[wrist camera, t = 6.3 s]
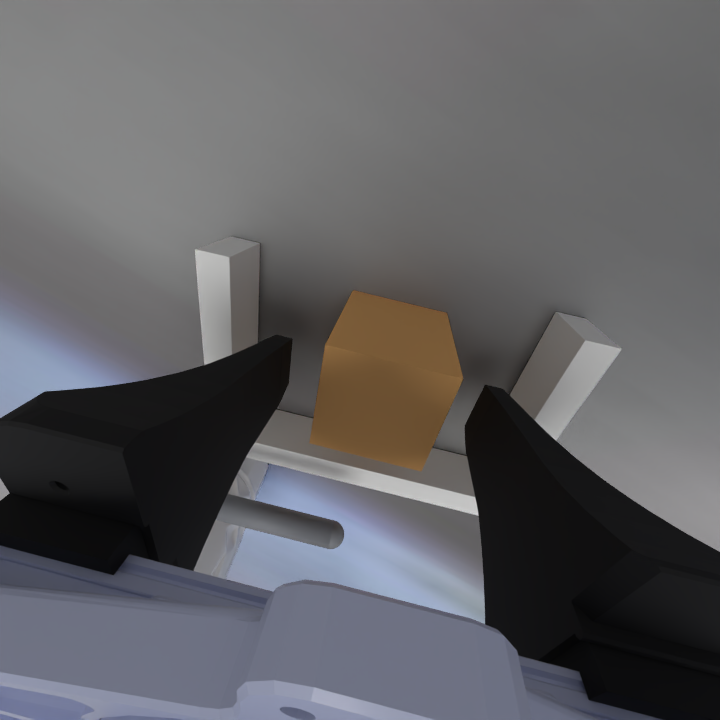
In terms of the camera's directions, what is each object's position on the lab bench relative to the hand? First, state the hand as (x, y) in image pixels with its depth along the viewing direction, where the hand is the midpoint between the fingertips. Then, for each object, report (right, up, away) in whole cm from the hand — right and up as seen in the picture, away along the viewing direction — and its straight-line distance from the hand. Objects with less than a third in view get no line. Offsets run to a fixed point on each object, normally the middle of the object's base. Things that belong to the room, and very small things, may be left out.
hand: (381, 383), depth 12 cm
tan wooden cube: (0, +2, +2) cm, 3 cm away
